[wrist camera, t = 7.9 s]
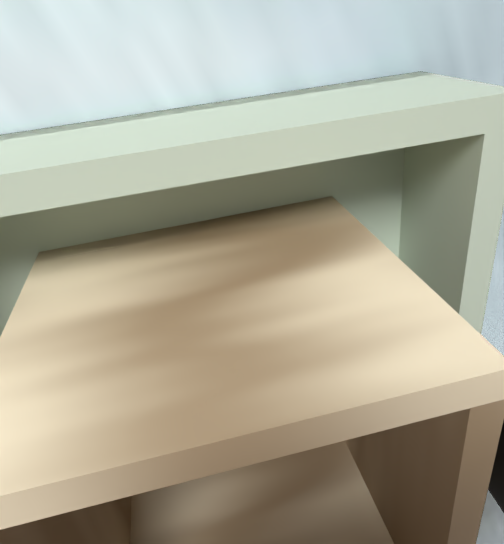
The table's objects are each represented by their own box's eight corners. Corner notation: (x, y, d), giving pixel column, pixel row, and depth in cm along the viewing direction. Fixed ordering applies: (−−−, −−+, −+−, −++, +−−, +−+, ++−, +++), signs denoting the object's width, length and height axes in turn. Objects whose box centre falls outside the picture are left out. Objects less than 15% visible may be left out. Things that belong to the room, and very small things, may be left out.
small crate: (332, 196, 10) (516, 367, 5) (338, 400, 14) (456, 630, 9) (38, 252, 10) (-82, 516, 4) (119, 455, 13) (103, 744, 8)
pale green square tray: (420, 71, 10) (524, 90, 7) (396, 424, 16) (450, 509, 13) (-125, 153, 9) (-248, 214, 6) (61, 508, 14) (41, 624, 12)
